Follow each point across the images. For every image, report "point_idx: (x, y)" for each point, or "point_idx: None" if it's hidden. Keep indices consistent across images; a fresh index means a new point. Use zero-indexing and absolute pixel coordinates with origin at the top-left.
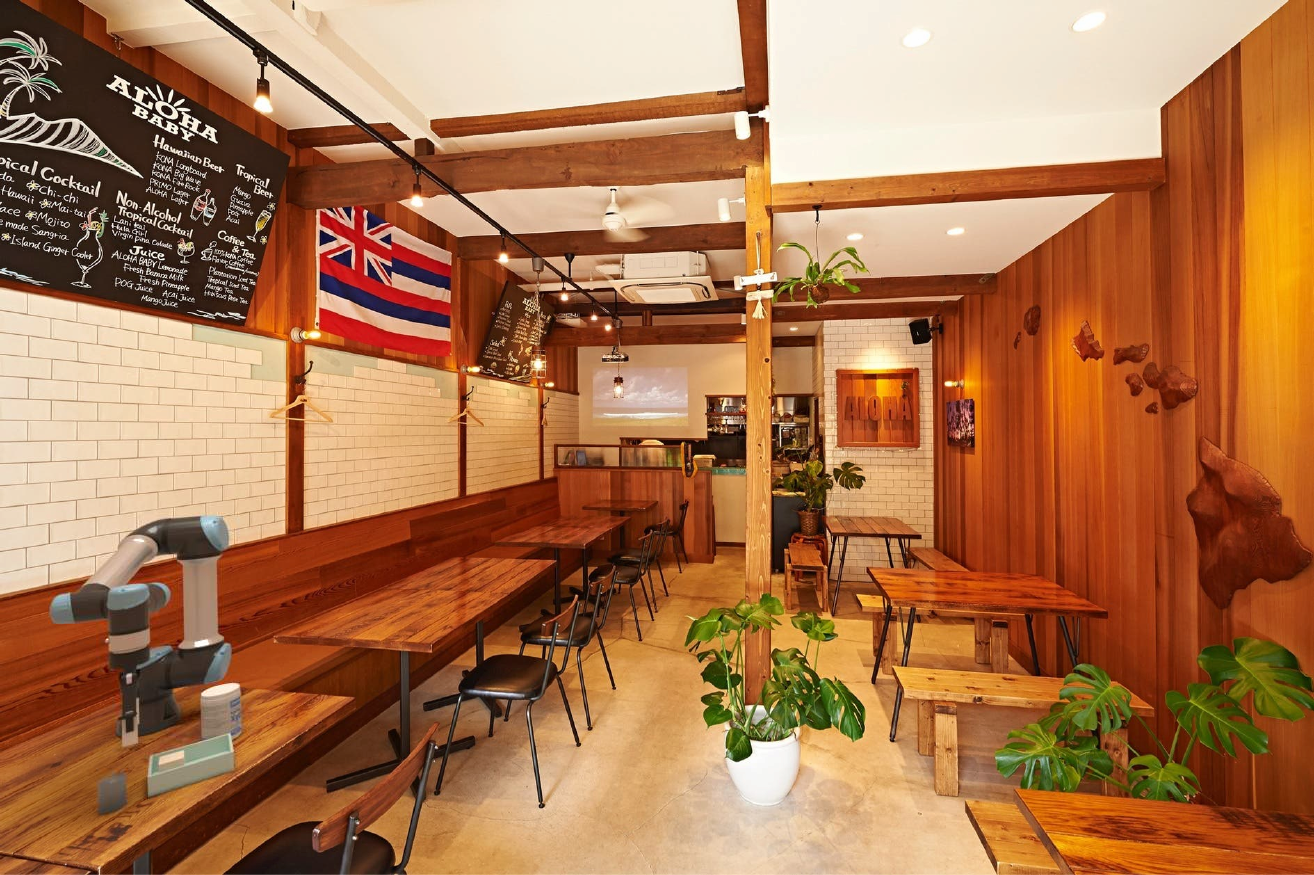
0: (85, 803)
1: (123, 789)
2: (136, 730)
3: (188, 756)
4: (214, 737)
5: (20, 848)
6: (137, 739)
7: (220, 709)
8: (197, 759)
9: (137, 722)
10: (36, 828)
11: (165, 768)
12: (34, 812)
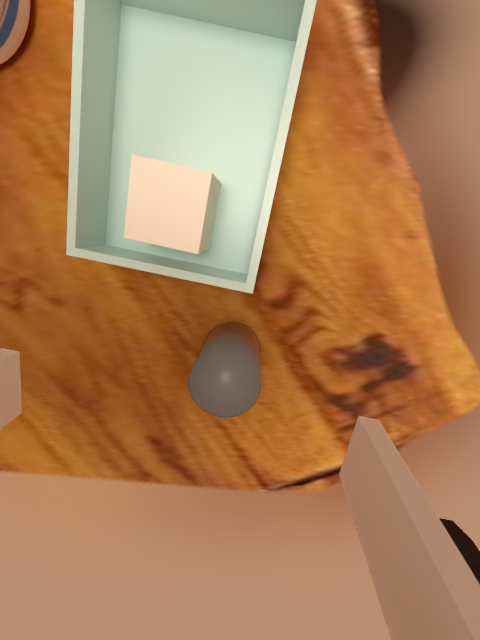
0: (147, 383)
1: (252, 348)
2: (418, 492)
3: (102, 142)
4: (1, 15)
5: (257, 481)
6: (386, 435)
7: None
8: (114, 119)
9: (8, 364)
10: (190, 457)
11: (204, 233)
12: (102, 451)
